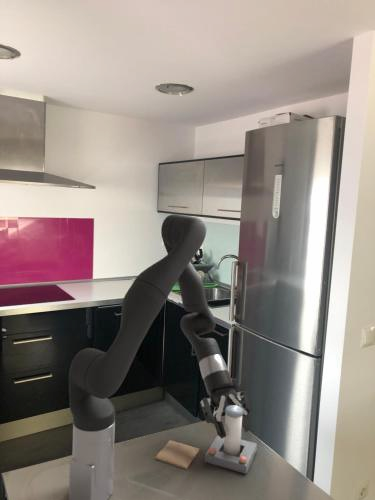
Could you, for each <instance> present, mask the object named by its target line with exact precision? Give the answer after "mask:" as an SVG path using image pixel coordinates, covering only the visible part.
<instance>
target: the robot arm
mask: <svg viewBox="0 0 375 500" xmlns="http://www.w3.org/2000/svg"><path fill="white" fill-rule="evenodd" d="M160 232H161V239H162V243H163V246H164V248H165V251H166V252H167V253H166V255H165V256H164V257H163V258H161V259H160V260H158V261H156V262H155V263H153V264H151V265H150V266H148V267H147V268H145V269H144V270H143V271H142V272H141V273H139V274H138V275H137V276H136V278H135V279H134V281H133V282H132V284H131V285H130V287H129V288H128V290H127V291H126V293H125V295H124V296H123V299H122V303H121V311H120V312H121V313H120V315H121V316H120V326H119V330H118V333H117V335H116V336H115V339H114V341H113V343H112V344H111V345H110V347H109V349H108V350H107V352H106V351H102V350H99V349H97V348H93V347H87V348H83V349H81V350H80V351H78V352H77V353H76V355H75V356H74V358H73V359H72V361H71V364H70V367H69V371H68V395H69V396H68V397H69V399H68V400H69V401H68V402H69V410H70V413H71V414H72V453H71V454H72V455H71V456H72V458H70V460H69V477H68V480H69V483H68V484H69V485H68V487H69V488H68V500H109V499H110V498H111V497H112V495H113V491H114V466H115V465H114V461H115V431H116V430H115V429H116V424H115V423H116V409H115V406H114V404H113V403H112V402H111V401H110V399H109V398H110V397H112V396H113V395H114V394H115V393H116V392H117V391H118V390H119V388H120V387H121V385H122V384H123V381H124V380H125V378H126V376H127V373H128V372H129V370H130V367H131V365H132V363H133V361H134V359H135V357H136V354H137V352H138V350H139V348H140V346H141V344H142V342H143V340H144V338H145V337H146V335H147V333H148V331H149V329H150V328H151V326H152V324H153V322H154V321H155V320H156V318H157V316H158V314H159V313H160V311H161V310H162V308H163V306H164V305H165V303H166V302H167V299H168V297H169V295H170V294H171V292H172V289H174V287H175V285H176V283H178V287H179V292H180V298H181V303H182V306H183V309H184V311H186V312H187V313H188V314H185V315H183V316H182V317H181V320H180V329H181V331H182V332H183V334H184V336H185V337H186V338H187V340H188V341H189V343H190V344H191V346H192V348H193V350H194V352H195V355H196V359H197V362H198V365H199V370H200V374H201V377H202V380H203V382H204V386H205V389H206V392H207V395H208V397H209V398H208V397H203V398H202V399H201V401H200V402H199V405H200V407H201V410H202V413H203V416H204V419H205V421H206V423H207V424H213V425H214V427H215V429H216V433H217V435H218V436H220V438H221V439H222V438H224V437H226V432H225V425H224V423H223V421H222V414H223V413H225V412H226V407H227V406H230V405H235V406H239V407H241V408H242V410H243V412H242V428H243V432H244V433H249V432H250V431H251V428H252V425H251V422H250V420H249V417H248V415H249V414H250V413H251V412H252V411H253V409H252V406H251V403H250V400H249V397H248V394H247V391H246V390H243V389H242V391H239V392H237V391H236V390H235V388H234V383H233V379H232V378H231V373H230V372H229V370H228V369H229V368H228V366H227V364H226V362H225V360H224V358H223V355H222V353H221V351H220V346H219V344H218V342H217V340H216V339H215V338H213V337H200V336H202V335H205V334H209V333H212V332H213V331H214V330H215V328H216V319H215V317H214V314H213V313H212V311H211V309H210V308H209V305H208V303H207V299H206V293H205V287H204V283H203V280H202V278H201V276H200V274H199V273H198V271H197V270H196V268H195V267H194V266H193V264H192V262H191V261H192V260H193V258H194V257H195V256H196V254H197V253H198V252H199V250H200V249H201V247H202V246H203V243H204V241H205V239H206V236H207V225H206V222H205V220H203V219H202V218H200V217H197V216H191V215H185V214H184V215H183V214H169V215H167V216H166V217H165V218H164V219H163V222H162V224H161V231H160ZM211 405H212V406H213V407H214V410H213V412H212V408H211Z"/></svg>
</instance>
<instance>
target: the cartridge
mask: <svg viewBox="0 0 375 500" xmlns="http://www.w3.org/2000/svg"><path fill="white" fill-rule="evenodd" d="M242 412H243V410H242V408H241V407H239V406H236V405H230V406H227V407H226V411H225V418H224V420H225V421H224V429H225V432H226V437H224V449H223V453H226V454H229V455H233V456H236V457H240V444H241V439H242V428H243V426H242Z"/></svg>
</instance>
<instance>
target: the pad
mask: <svg viewBox="0 0 375 500" xmlns="http://www.w3.org/2000/svg"><path fill="white" fill-rule="evenodd" d="M200 450H201V449H200V448H198V447H195V446H192V445H189V444H185V443H181V442H177V441H175V440H171V439H169V440H168V441H167V443H166V444H165V445H164V447H162V448H161V450H160V451H158V453H157V455H156V456H155V457H154V460H156V461H159V462H163V463H166V464H169V465H172V466H175V467H179V468H181V469H185V470H188V468H189V467H190V465H191V464H192V463H193V462H194V459H195V458H196V456H197V455H198V454H199V452H200Z"/></svg>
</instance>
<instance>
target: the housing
mask: <svg viewBox="0 0 375 500" xmlns="http://www.w3.org/2000/svg"><path fill="white" fill-rule="evenodd" d="M257 446H258V443H256V442H252V441H248V440H245V439H242V438H241V444H240V457H236V456H233V455H229V454H226V453H223V449H224V438H222V439H221V438H220V436H218V434H217V436H216V437H215V438H214V440H213V442H212V443H211V444H210V446H209V448H207V449H208V450H207V451H206V452H205V454H204V462H205V463H208V464H212V465H214V466H217V467H218V466H219V467H222V468H225V469H228V470H232V471H236V472H239V473H242V474H245V475H246V474H247V472H248V471H249V468H250V467H251V464H252V462H253V459H254V457H255V456H256V455H255V454H256V452H257Z"/></svg>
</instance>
